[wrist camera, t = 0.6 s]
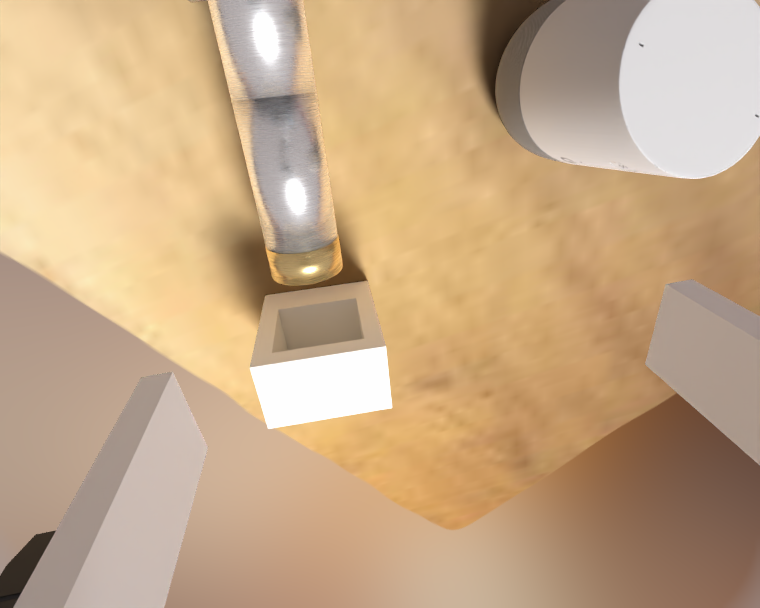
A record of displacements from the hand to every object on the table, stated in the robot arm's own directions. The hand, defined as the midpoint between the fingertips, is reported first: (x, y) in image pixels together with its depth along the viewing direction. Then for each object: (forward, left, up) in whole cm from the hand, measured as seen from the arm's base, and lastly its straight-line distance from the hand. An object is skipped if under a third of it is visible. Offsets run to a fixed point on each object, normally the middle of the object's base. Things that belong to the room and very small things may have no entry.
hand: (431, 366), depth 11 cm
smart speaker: (-6, +14, -22) cm, 26 cm away
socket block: (+10, -4, -22) cm, 24 cm away
